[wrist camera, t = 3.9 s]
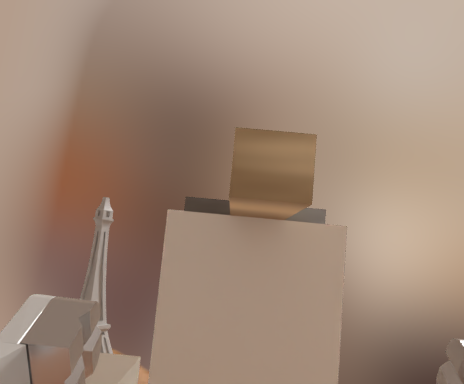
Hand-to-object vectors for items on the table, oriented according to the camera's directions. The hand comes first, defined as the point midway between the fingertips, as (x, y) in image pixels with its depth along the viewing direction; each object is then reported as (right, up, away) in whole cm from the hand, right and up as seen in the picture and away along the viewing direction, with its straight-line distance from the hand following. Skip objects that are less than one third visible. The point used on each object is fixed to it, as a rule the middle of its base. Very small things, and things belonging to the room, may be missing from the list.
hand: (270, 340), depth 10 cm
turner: (0, +2, +17) cm, 17 cm away
